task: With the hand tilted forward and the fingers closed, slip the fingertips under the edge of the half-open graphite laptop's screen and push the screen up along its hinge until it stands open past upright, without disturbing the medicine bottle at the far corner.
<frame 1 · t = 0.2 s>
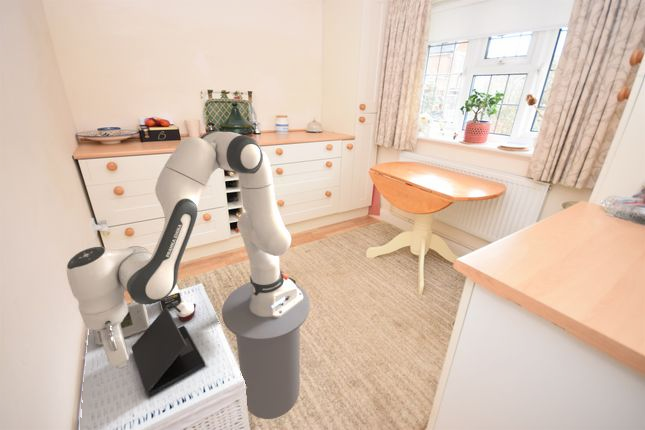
hand: (120, 352, 76), 18 cm above the counter, tool pointing down, fingers open, 8 cm apart
digital clock: (125, 333, 104), on the counter
laptop screen: (157, 346, 91), point 7 cm above the counter, hinge at 40.0°
laptop: (169, 359, 95), on the counter
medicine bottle: (171, 304, 118), on the counter
cupcake: (186, 319, 111), on the counter
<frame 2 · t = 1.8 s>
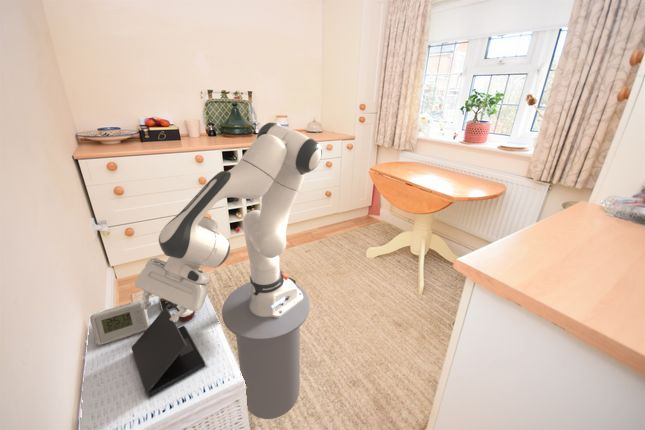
hand: (158, 314, 82), 23 cm above the counter, tool tilted 40°, fingers open, 8 cm apart
nothing on the counter moved.
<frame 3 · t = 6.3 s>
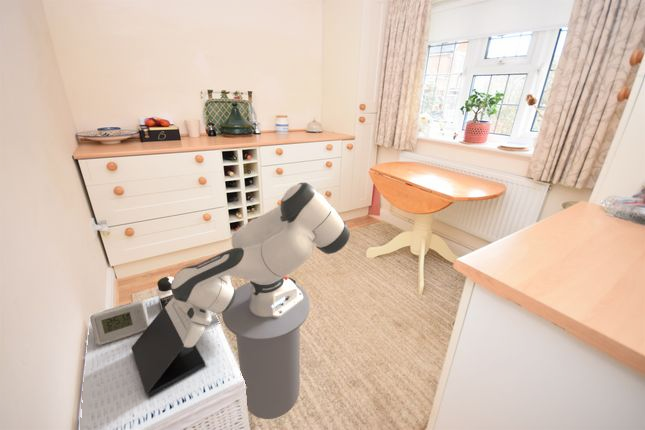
hand: (166, 341, 92), 8 cm above the counter, tool tilted 45°, fingers closed, pressing on laptop screen
laptop screen: (156, 346, 91), point 7 cm above the counter, hinge at 42.0°, touching gripper
everything else where it was.
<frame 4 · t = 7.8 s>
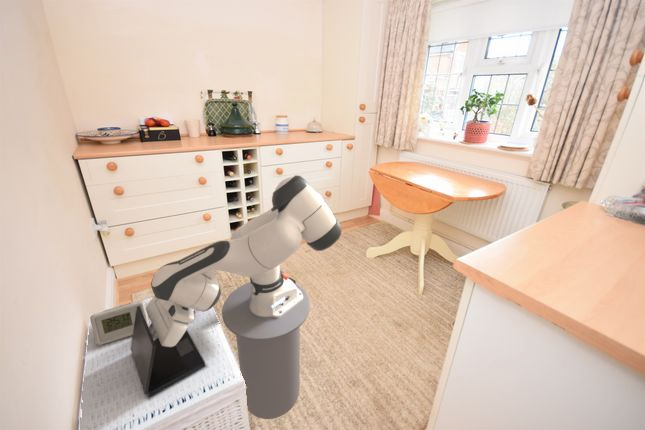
hand: (147, 340, 88), 11 cm above the counter, tool tilted 45°, fingers closed, pressing on laptop screen
laptop screen: (142, 347, 88), point 10 cm above the counter, hinge at 72.3°, touching gripper
everything else where it was.
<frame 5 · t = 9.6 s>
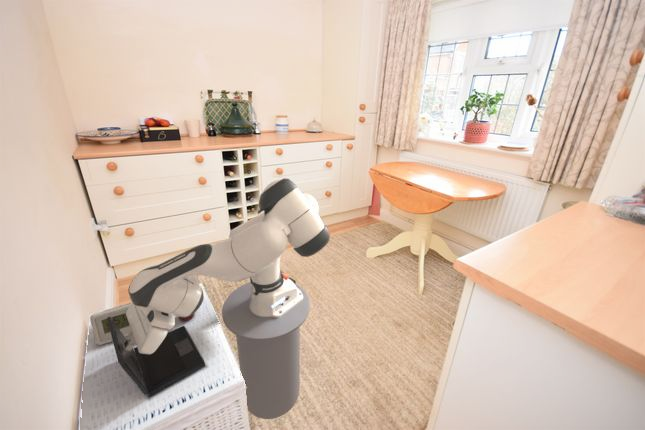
hand: (126, 347, 84), 12 cm above the counter, tool tilted 45°, fingers closed
laptop screen: (126, 354, 85), point 10 cm above the counter, hinge at 101.0°
everything else where it was.
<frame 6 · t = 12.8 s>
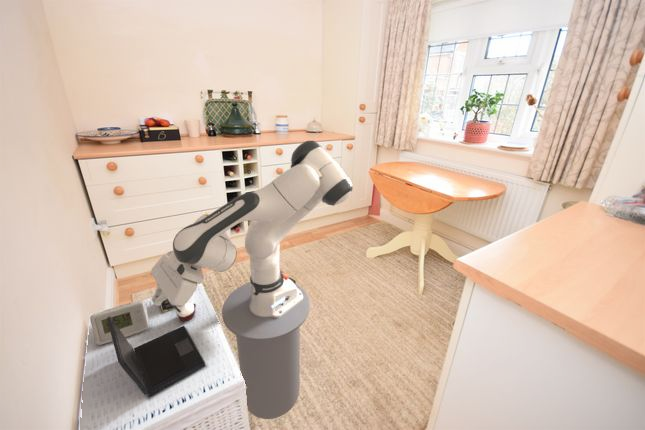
hand: (155, 303, 85), 24 cm above the counter, tool tilted 45°, fingers closed
nothing on the counter moved.
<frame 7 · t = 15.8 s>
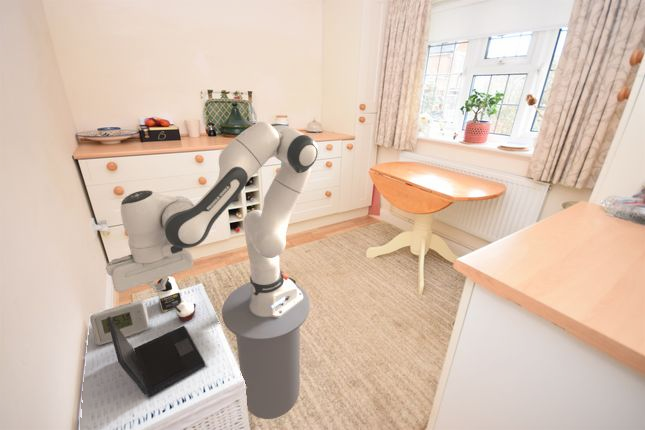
hand: (159, 290, 85), 27 cm above the counter, tool pointing down, fingers closed
nothing on the counter moved.
at the end: laptop screen at +101° (first picture: +40°); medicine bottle moved 0.2 cm from its start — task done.
